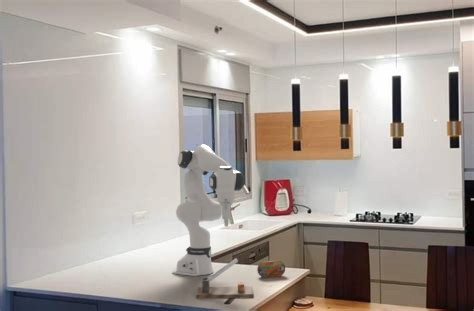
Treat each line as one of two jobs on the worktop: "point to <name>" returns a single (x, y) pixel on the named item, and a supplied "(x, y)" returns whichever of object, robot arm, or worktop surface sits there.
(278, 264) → the tin
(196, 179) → the robot arm
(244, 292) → the latch base
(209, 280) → the latch lever
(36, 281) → the worktop surface
